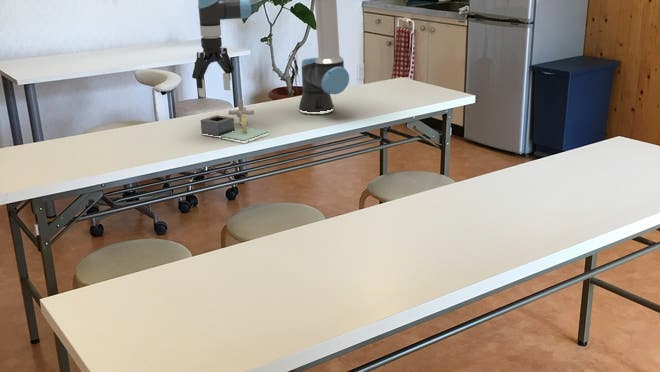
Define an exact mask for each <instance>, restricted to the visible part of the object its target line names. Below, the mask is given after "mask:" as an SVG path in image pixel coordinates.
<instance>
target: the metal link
mask: <svg viewBox="0 0 660 372" xmlns="http://www.w3.org/2000/svg"><path fill="white" fill-rule="evenodd" d="M200 129H201V135H202V134H208V135H213V136H221V135H224V134H227V133H230V132H232V131H236V130H235V118H234V117H231V116H230V117H229V116H224V115H213V116H210V117H206V118H203V119H201V120H200Z"/></svg>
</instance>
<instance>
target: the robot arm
mask: <svg viewBox="0 0 660 372" xmlns="http://www.w3.org/2000/svg"><path fill="white" fill-rule="evenodd" d="M262 1H263V0H197V2H198V6H197V8H198V15H199V29H200V31H199V32H200V37H201V38H200V44H201V45H200V46H201V48H202V51H201V52H200V51H197V52H196V59H195V64H194V68H193V73H192V75H191V78H192V79H195V80H196V86H197V89H198V90H197V91H198V97H200V98H201V97H202V98H206V95H207V94H206V85H205V84H206V83H205V79H203V78H204V76H205V74H206V72H207V69H208V68H209V66H210V65H211V64H212V63H216V62H217V64H218V66H219V68H221V69H222V70H223V73H222V79H223V80H222V81H223V91H231V74H233V71H234V70H235V67H234V65H233V63H232V60H231V59H230V56H229V54H228V49H227V47H222V46H223V42H222V37H221V36H222V28H221V20H223V21H224V20H238V19H240V20H241V19H248V18H250V16H251V15H252V14H251V13H252V5H254V4H257V3H259V2H262ZM314 7H315V24H316V35H317V36H316V38H317V52H318V57H311V58H304V59H303V60H302V61H301V83H302V95H301V98H300V103H299V105H298V110H299V109H300V110H302V111H307V112H320V111H327V110H331V109H333V108H334V109H335V105H334V103H333V99H332V96H331V95H339V94H341V93H342V92H344V91H345V89H346V88H347V87H348V85H349V83H350V74H349V72H348V70H347V69H346V68H345V62H344V61H345V60H344V58H343V57H342V56H341V55H340V46H339V45H340V42H339V24H338V23H339V22H338V8H337V7H338V4H337V0H314Z"/></svg>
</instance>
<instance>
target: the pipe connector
mask: <svg viewBox="0 0 660 372" xmlns="http://www.w3.org/2000/svg"><path fill="white" fill-rule="evenodd" d="M237 102H238V105H237V106H238V109H229V110H228V115H229V116H230V115H236V117H237V118H239V123H240V122H241V115H243V114H245V115H246V116H247V115H248V116H249V115H250V116H253V115H254V114H255V110H252V109H250V110H249V109H248V110H247V108H246V107H244V103H243V102H244V101H243V99H238V100H237Z"/></svg>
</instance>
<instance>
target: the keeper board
mask: <svg viewBox="0 0 660 372" xmlns="http://www.w3.org/2000/svg"><path fill="white" fill-rule="evenodd" d="M247 121H248V119H247V115H245V114H243V115H241V123H242V125H241V128H239V129H236V130H235V131H233V132H230V133H227V134H224V135H221V137H222V138H228V139H234V140H240V141H246V140H249V139H252V138H255V137H258V136H260V135H263V134H266V133H268V132H269V130H263V129H257V128H251V127H248V123H247Z"/></svg>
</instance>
